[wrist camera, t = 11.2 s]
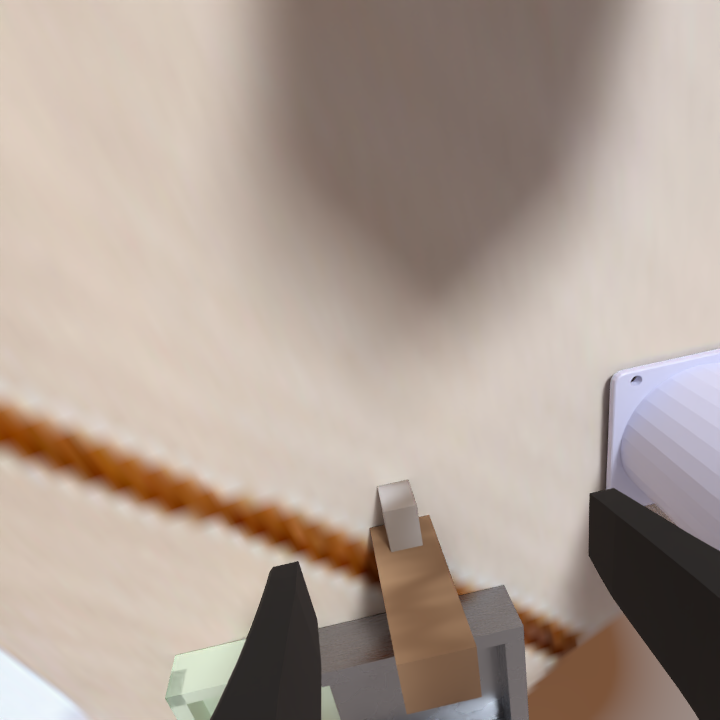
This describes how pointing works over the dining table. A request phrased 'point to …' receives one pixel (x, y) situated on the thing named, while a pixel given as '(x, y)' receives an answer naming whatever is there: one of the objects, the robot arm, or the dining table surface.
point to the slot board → (380, 676)
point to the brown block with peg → (422, 607)
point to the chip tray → (214, 682)
